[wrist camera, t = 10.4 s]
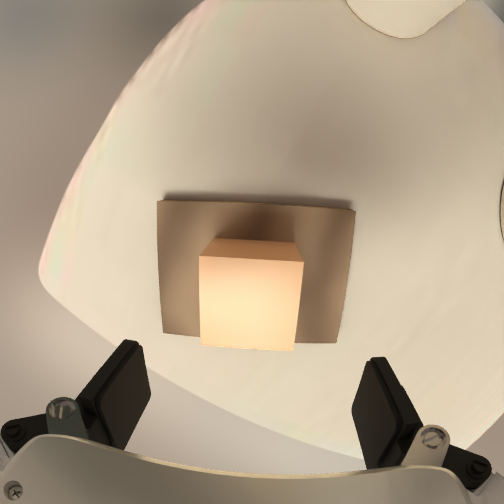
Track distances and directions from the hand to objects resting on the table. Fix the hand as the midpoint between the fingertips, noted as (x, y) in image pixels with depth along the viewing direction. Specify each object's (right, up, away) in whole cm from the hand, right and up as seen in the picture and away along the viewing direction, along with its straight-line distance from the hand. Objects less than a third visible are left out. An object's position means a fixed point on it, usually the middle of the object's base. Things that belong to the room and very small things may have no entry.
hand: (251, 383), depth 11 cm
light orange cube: (0, +3, +13) cm, 13 cm away
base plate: (0, +3, +14) cm, 15 cm away
